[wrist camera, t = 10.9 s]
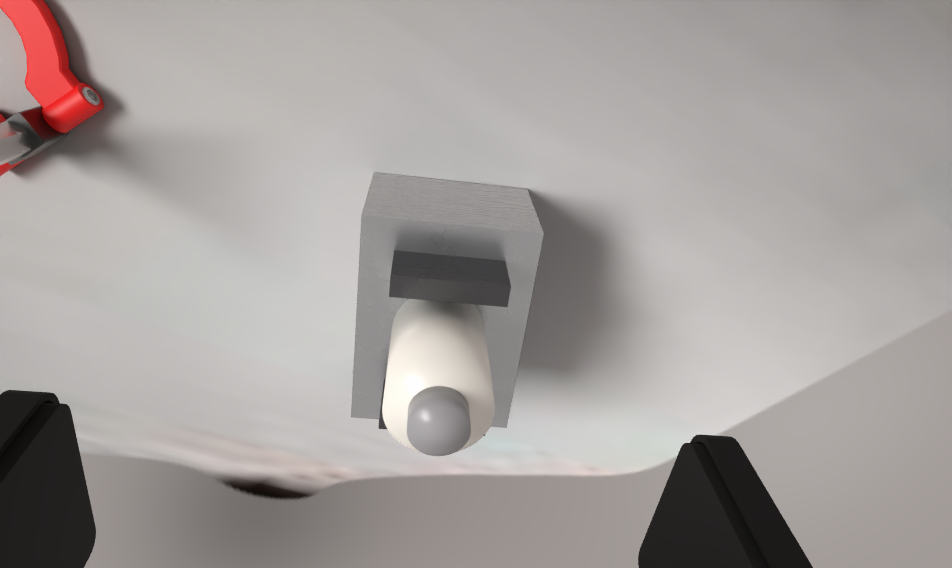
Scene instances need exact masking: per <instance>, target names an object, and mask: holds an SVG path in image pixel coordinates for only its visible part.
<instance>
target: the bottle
mask: <svg viewBox="0 0 952 568" xmlns="http://www.w3.org/2000/svg"><path fill="white" fill-rule="evenodd" d="M494 414H495V403H494V395H493V388H492V380H491V372H490V364H489V357H488V349H487V341H486V334H485V326H484V321H483V318H482V315H481V313H480V312H479V310H478V309H477V307H476V306H475V305H474V304H464V303H452V302H441V301H429V300H418V299H409V300H407V301H406V302H405V303H404V304H403V305H402V306H401V307H400V308H399V310H398V311H397V313H396V315H395V317H394V320H393V324H392V331H391V339H390V347H389V356H388V364H387V372H386V380H385V389H384V397H383V405H382V415H383V420H384V423H385V425H386V427H387V429H388V431H389V432H390V433H391V435H392V436H393V437H394V438H395V439H396V440H397V441H398V442H400V443H401V444H403V445H404V446H406V447H408V448H410V449H412V450H415V451H418V452H422V453H424V454H427V455H432V456H445V455H449V454H452V453H455V452H457V451H461V450H463V449H466V448H468V447H470V446H471V445H473V444H475V443H476V442H477V441H479V440H480V439H481V438H482V437H483V436H484V435H485V434H486V432H487V431H488V429H489V428H490V426H491V424H492V422H493V418H494Z"/></svg>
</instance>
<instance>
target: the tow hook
mask: <svg viewBox="0 0 952 568" xmlns="http://www.w3.org/2000/svg"><path fill="white" fill-rule="evenodd" d="M0 8H1V9H2V10H3V11H4V13H5V14H6V15H7V16H8V17H9V18H10V19H11V21H12V22H13V24H14V26H15V27H16V29H17V31H18V33H19V34H20V36H21V38H22V42H23V45H24V48H25V51H26V54H27V75H26V79H25V84H26V88H27V89H28V91H29V92H30V93H31V94H32V95H33V97H34V98H35V99H36V100H37V101H38V102H39V104H40V105H41V106H39V107H35V108H32V109H29V110H25V111H22V112H18V113H16V114H14V115H13V116H11V117H10V118H8V119H7V120H6V119H5V118H4V117H3V116H2V115H1V114H0V176H1V175H3V174H4V173H6V172H7V171H9V170H10V169H12V168H13V167H15V166H16V165H18V164H19V163H21V162H22V161H24V160H26V159H28V158H30V157H33V156H35V155H37V154H39V153H40V152H42V151H43V150H45V149H46V148H48V147H49V146H51V145H52V144H54V143H55V142H57V141H59V140H60V139H62V138H63V137H65V136H66V135H67V134H68V133H69V131H70V130H71V129H73V128H74V127H76V126H77V125H79V124H80V123H82V122H83V121H85V120H86V119H88V118H89V117H91V116H92V115H94V114H95V113H97V112H98V111H100V110H102V109H103V107H104V104H103V101H102V99H101V97H100V96H99V94H98V93H97V92H96V91H95V90H94V89H93V88H92V87H90V86H89V85H87V84H85V83H80V82H79V81H78V79H77V78H76V77H75V76H74V74H73V73H72V72H71V71H70V69H69V56H68V53H67V49H66V46H65V42H64V39H63V35H62V32H61V29H60V28H59V26H58V24H57V22H56V20H55V18H54V17H53V15H52V13H51V11H50V9H49V7H48V6H47V4H46V3H45V2H44V1H43V0H0Z"/></svg>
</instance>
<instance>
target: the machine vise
mask: <svg viewBox="0 0 952 568" xmlns="http://www.w3.org/2000/svg"><path fill="white" fill-rule="evenodd" d="M543 236H544V232H543V230H542V227H541V224H540V222H539V219H538V216H537V214H536V211H535V208H534V206H533V203H532V200H531V198H530V195H529V192H528V190H527V189H523V188H514V187H505V186H496V185H486V184H477V183H468V182H459V181H449V180H440V179H431V178H422V177H412V176H403V175H394V174H385V173H375V172H374V174H373V177H372V181H371V184H370V188H369V191H368V195H367V198H366V202H365V205H364V208H363V212H362V217H361V236H360V255H359V275H358V294H357V313H356V332H355V352H354V371H353V390H352V409H351V417H356V418H370V419H379V429H387V427H386V425H385V423H384V420H383V415H382V405H383V397H384V389H385V380H386V372H387V364H388V356H389V347H390V339H391V331H392V324H393V320H394V317H395V315H396V313H397V311H398V310H399V308H400V307H401V306H402V305H403V304H404V303H405V302H406V301H407V300H409V299H418V300H429V301H441V302H452V303H464V304H474V305H475V306H476V307H477V309H478V310H479V312H480V313H481V315H482V318H483V321H484V326H485V334H486V341H487V349H488V357H489V364H490V372H491V380H492V388H493V395H494V403H495V414H494V418H493V422H492V424H491V426H490V427H504V428H507V423H508V417H509V412H510V407H511V402H512V397H513V392H514V386H515V381H516V376H517V371H518V366H519V360H520V355H521V350H522V345H523V340H524V334H525V329H526V324H527V319H528V314H529V309H530V303H531V298H532V293H533V288H534V283H535V277H536V272H537V267H538V262H539V257H540V251H541V246H542V241H543ZM484 436H485V435H484Z"/></svg>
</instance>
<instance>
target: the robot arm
mask: <svg viewBox="0 0 952 568" xmlns="http://www.w3.org/2000/svg"><path fill="white" fill-rule="evenodd" d="M95 537H96V528H95V523H94V518H93V514H92V509H91V504H90V499H89V495H88V490H87V485H86V480H85V476H84V471H83V466H82V462H81V457H80V452H79V447H78V443H77V438H76V433H75V429H74V424H73V419H72V414H71V410H70V408H69V406H68V405H67V404H60V403H59V400H58V398H57V396H56V395H55V394H54V393H47V392H32V391H16V390H8V391H5V392H3V393H2V394H1V395H0V568H84V566H85V564H86V562H87V560H88V559H89V557H90V554H91V552H92V550H93V546H94V543H95ZM638 565H639V568H813V567H812V566H811V564H810V562H809V560H808V559H807V557H806V555H805V554H804V552H803V550H802V549H801V547H800V545H799V543H798V542H797V540H796V538H795V537H794V535H793V534H792V532H791V530H790V528H789V527H788V525H787V524H786V522H785V520H784V519H783V517H782V515H781V514H780V512H779V510H778V508H777V507H776V505H775V503H774V502H773V500H772V498H771V497H770V495H769V493H768V492H767V490H766V488H765V487H764V485H763V483H762V481H761V480H760V478H759V477H758V475H757V473H756V471H755V470H754V468H753V466H752V465H751V463H750V461H749V460H748V458H747V456H746V454H745V453H744V451H743V449H742V448H741V446H740V445H739V443H738V442H737V441H736V439H734V438H732V437H727V436H712V435H696V436H695V437H693V439H692V441H691V442H690V443H685V444H683V445H682V447H681V449H680V451H679V454H678V456H677V459H676V461H675V464H674V467H673V469H672V471H671V474H670V476H669V479H668V481H667V483H666V486H665V488H664V491H663V494H662V496H661V498H660V501H659V504H658V506H657V508H656V511H655V513H654V516H653V518H652V521H651V523H650V525H649V528H648V531H647V533H646V536H645V538H644V540H643V543H642V546H641V548H640V551H639V557H638Z"/></svg>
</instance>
